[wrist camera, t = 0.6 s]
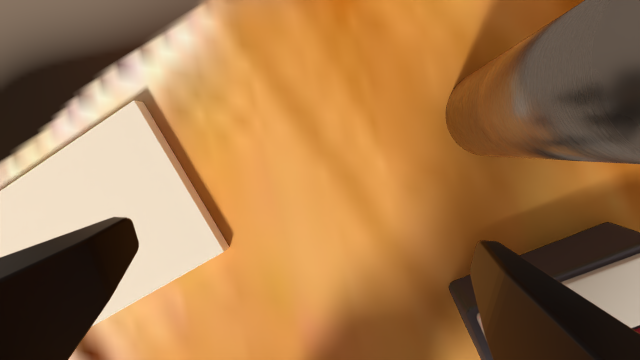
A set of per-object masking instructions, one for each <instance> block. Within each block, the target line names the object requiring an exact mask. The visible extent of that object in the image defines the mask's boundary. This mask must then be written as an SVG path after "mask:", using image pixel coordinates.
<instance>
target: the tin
mask: <svg viewBox="0 0 640 360" xmlns="http://www.w3.org/2000/svg"><path fill="white" fill-rule="evenodd" d="M446 123H447V127H448V130H449V132H450V134H451V136H452V137H453V139H454V140H455V141H456V143H457V144H459V145H460V146H461V147H462V148H464V149H465V150H467V151H469V152H471V153H473V154H476V155H481V156H495V157H514V158H533V159H552V160H571V161H591V162H610V163H629V164H640V0H585V1H583V2H582V3H580V4H579V5H577V6H576V7H574V8H572V9H571V10H569V11H568V12H566V13H565V14H563V15H562V16H560V17H559V18H557V19H555V20H554V21H552V22H551V23H549V24H548V25H546V26H545V27H543V28H542V29H540V30H538V31H537V32H535V33H534V34H532V35H531V36H529V37H528V38H526V39H525V40H523V41H521V42H520V43H518V44H517V45H515V46H514V47H512V48H511V49H509V50H507V51H506V52H504V53H503V54H501V55H500V56H498V57H497V58H495V59H494V60H492V61H490V62H489V63H487V64H486V65H484V66H483V67H481V68H480V69H478V70H477V71H475V72H473V73H472V74H470V75H469V76H467V77H466V78H464V79H463V80H462V81H461V82H460V83H459V84H458V85H457V86H456V87H455V89H454V90H453V92H452V93H451V95H450V97H449V100H448V103H447V107H446Z"/></svg>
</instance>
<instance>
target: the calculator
mask: <svg viewBox="0 0 640 360" xmlns="http://www.w3.org/2000/svg"><path fill="white" fill-rule="evenodd" d="M520 256H521V257H522V258H524V259H525V260H527V261H528V262H530V263H531V264H533V265H535V266H536V267H538V268H539V269H541V270H542V271H544V272H545V273H547V274H548V275H550V276H552V277H553V278H555V279H556V280H558V281H559V282H561V283H562V284H564V285H565V286H567V287H568V288H570V289H572V290H573V291H575V292H576V293H578V294H579V295H581V296H582V297H584V298H585V299H587V300H589V301H590V302H592V303H593V304H595V305H596V306H598V307H599V308H601V309H602V310H604V311H605V312H607V313H609V314H610V315H612V316H613V317H615V318H616V319H618V320H619V321H621V322H622V323H624V324H626V325H627V326H629V327H630V328H632V329H633V330H635V331H636V332H638V333H639V334H640V232H637V231H634V230H631V229H628V228H625V227H622V226H619V225H616V224H613V223H609V222H607V223H603V224H600V225H598V226H595V227H592V228H590V229H587V230H585V231H582V232H580V233H577V234H574V235H572V236H569V237H567V238H564V239H561V240H559V241H556V242H554V243H551V244H548V245H546V246H543V247H541V248H538V249H535V250H533V251H530V252H528V253H525V254H522V255H520ZM449 290H450V292H451V295H452V297H453V299H454V301H455V303H456V306H457V308H458V310H459V312H460V315H461V317H462V319H463V321H464V323H465V326H466V328H467V330H468V332H469V334H470V336H471V339H472V341H473V343H474V345H475V347H476V349H477V351H478V353H479V355H480V358H481V360H493V358H492V355H491V352H490V349H489V346H488V343H487V340H486V337H485V334H484V330H483V326H482V322H481V318H480V314H479V310H478V305H477V301H476V297H475V293H474V288H473V284H472V280H471V275H468V276H465V277H463V278H460V279H458V280H455V281H453V282H451V283H450V285H449Z"/></svg>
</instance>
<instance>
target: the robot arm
mask: <svg viewBox="0 0 640 360" xmlns="http://www.w3.org/2000/svg"><path fill="white" fill-rule="evenodd" d="M138 248H139V241H138V238H137V234H136V231H135V228H134V224H133V222H132V220H131V219H130V218H127V217H112V218H109V219H106V220H103V221H100V222H98V223H95V224H92V225H89V226H86V227H84V228H81V229H78V230H75V231H73V232H70V233H67V234H64V235H61V236H59V237H56V238H53V239H50V240H48V241H45V242H42V243H39V244H36V245H34V246H31V247H28V248H25V249H22V250H20V251H17V252H14V253H11V254H9V255H6V256H3V257H0V360H68V359H69V358H70V356H71V355H72V353H73V352H74V351H75V349H76V348H77V346H78V345H79V344H80V342H81V341H82V339H83V338H84V336H85V335H86V334H87V332H88V331H89V329H90V328H91V326H92V325H93V324H94V322H95V321H96V319H97V318H98V316H99V315H100V314H101V312H102V311H103V309H104V308H105V306H106V305H107V303H108V302H109V300H110V299H111V297H112V295H113V294H114V292H115V290H116V288H117V287H118V285H119V283H120V281H121V280H122V278H123V276H124V274H125V273H126V271H127V269H128V267H129V266H130V264H131V262H132V260H133V259H134V257H135V255H136V253H137V251H138ZM470 275H471V280H472V284H473V288H474V293H475V297H476V301H477V305H478V310H479V314H480V318H481V322H482V326H483V330H484V334H485V337H486V340H487V343H488V346H489V349H490V352H491V355H492V358H493V360H640V334H639V333H638V332H636V331H635V330H633V329H632V328H630V327H629V326H627V325H626V324H624V323H622V322H621V321H619V320H618V319H616V318H615V317H613V316H612V315H610V314H609V313H607V312H605V311H604V310H602V309H601V308H599V307H598V306H596V305H595V304H593V303H592V302H590V301H589V300H587V299H585V298H584V297H582V296H581V295H579V294H578V293H576V292H575V291H573V290H572V289H570V288H568V287H567V286H565V285H564V284H562V283H561V282H559V281H558V280H556V279H555V278H553V277H552V276H550V275H548V274H547V273H545V272H544V271H542V270H541V269H539V268H538V267H536V266H535V265H533V264H531V263H530V262H528V261H527V260H525V259H524V258H522V257H521V256H519V255H518V254H516V253H514V252H513V251H511V250H510V249H508V248H507V247H505V246H504V245H502V244H501V243H499V242H497V241H486V240H480V241H479V242H478V243H477V245H476V248H475V252H474V256H473V259H472V263H471V268H470Z"/></svg>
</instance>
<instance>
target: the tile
mask: <svg viewBox="0 0 640 360" xmlns="http://www.w3.org/2000/svg"><path fill="white" fill-rule="evenodd" d="M112 217H127V218H130V219H131V220H132V222H133V224H134V228H135V231H136V234H137V238H138V241H139V248H138V251H137V253H136V255H135V257H134V259H133V260H132V262H131V264H130V266H129V267H128V269H127V271H126V273H125V274H124V276H123V278H122V280H121V281H120V283H119V285H118V287H117V288H116V290H115V292H114V294H113V295H112V297H111V299H110V300H109V302H108V303H107V305H106V306H105V308H104V309H103V311H102V312H101V314H100V315H99V316H98V318H97V319H96V321H95V322H94V324H93V325H95V324H97V323H99V322H101V321H102V320H104V319H106V318H108V317H109V316H111V315H113V314H115V313H116V312H118V311H120V310H122V309H123V308H125V307H127V306H129V305H131V304H132V303H134V302H136V301H138V300H139V299H141V298H143V297H145V296H146V295H148V294H150V293H152V292H154V291H155V290H157V289H159V288H161V287H162V286H164V285H166V284H168V283H169V282H171V281H173V280H175V279H176V278H178V277H180V276H182V275H184V274H185V273H187V272H189V271H191V270H192V269H194V268H196V267H198V266H199V265H201V264H203V263H205V262H207V261H208V260H210V259H212V258H214V257H215V256H217V255H219V254H221V253H222V252H224V251H225V250H227V249H228V248H229V246H228V244H227V242H226V241H225V239H224V237H223V236H222V234H221V232H220V230H219V229H218V227H217V225H216V224H215V222H214V220H213V219H212V217H211V215H210V214H209V212H208V210H207V209H206V207H205V205H204V204H203V202H202V200H201V198H200V197H199V195H198V193H197V192H196V190H195V188H194V187H193V185H192V183H191V182H190V180H189V178H188V177H187V175H186V173H185V172H184V170H183V168H182V166H181V165H180V163H179V161H178V160H177V158H176V156H175V155H174V153H173V151H172V150H171V148H170V146H169V145H168V143H167V141H166V139H165V138H164V136H163V134H162V133H161V131H160V129H159V128H158V126H157V124H156V123H155V121H154V119H153V118H152V116H151V114H150V113H149V111H148V109H147V107H146V106H145V104H144V102H140V101H135V100H133V101H132V102H130V103H129V104H128V105H126V106H125V107H123V108H122V109H120V110H119V111H117V112H116V113H114V114H113V115H111V116H110V117H108V118H107V119H105V120H104V121H102V122H101V123H100V124H98V125H97V126H95V127H94V128H92V129H91V130H89V131H88V132H86V133H85V134H83V135H82V136H80V137H79V138H77V139H76V140H74V141H73V142H72V143H70V144H69V145H67V146H66V147H64V148H63V149H61V150H60V151H58V152H57V153H55V154H54V155H52V156H51V157H49V158H48V159H46V160H45V161H44V162H42V163H41V164H39V165H38V166H36V167H35V168H33V169H32V170H30V171H29V172H27V173H26V174H24V175H23V176H21V177H20V178H18V179H17V180H16V181H14V182H13V183H11V184H10V185H8V186H7V187H5V188H4V189H2V190H1V191H0V257H3V256H6V255H9V254H11V253H14V252H17V251H20V250H22V249H25V248H28V247H31V246H34V245H36V244H39V243H42V242H45V241H48V240H50V239H53V238H56V237H59V236H61V235H64V234H67V233H70V232H73V231H75V230H78V229H81V228H84V227H86V226H89V225H92V224H95V223H98V222H100V221H103V220H106V219H109V218H112ZM93 325H92V326H93ZM92 326H91V327H92Z"/></svg>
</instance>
